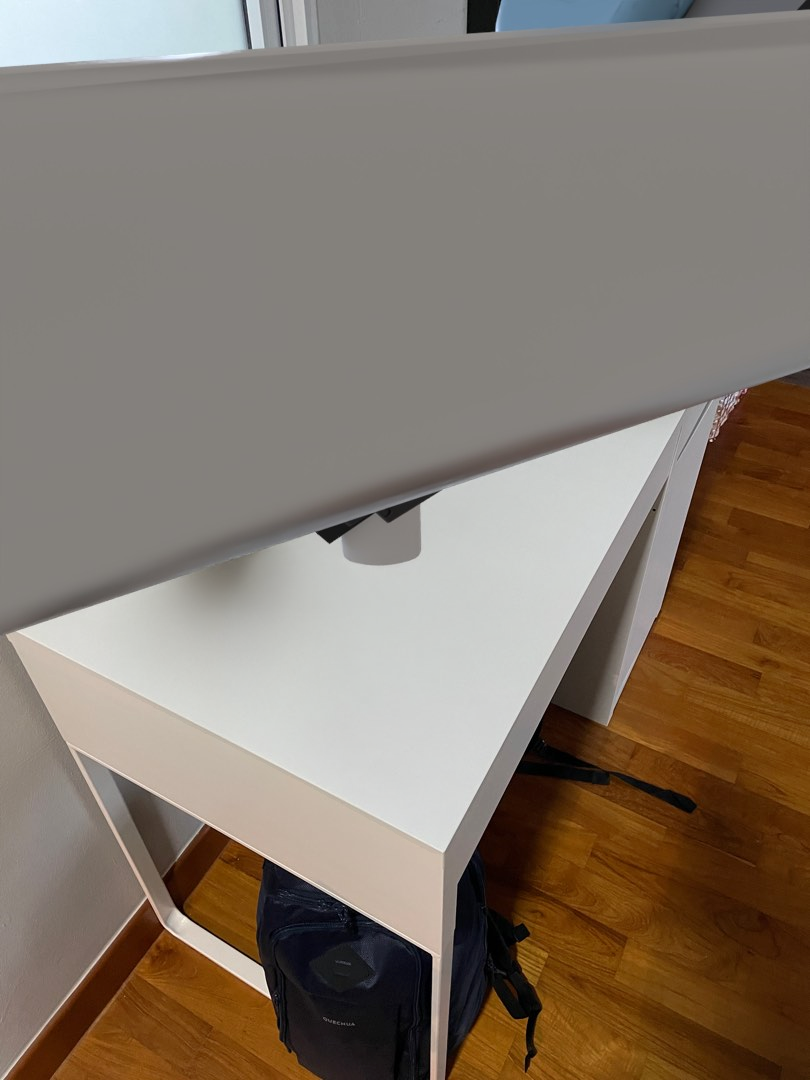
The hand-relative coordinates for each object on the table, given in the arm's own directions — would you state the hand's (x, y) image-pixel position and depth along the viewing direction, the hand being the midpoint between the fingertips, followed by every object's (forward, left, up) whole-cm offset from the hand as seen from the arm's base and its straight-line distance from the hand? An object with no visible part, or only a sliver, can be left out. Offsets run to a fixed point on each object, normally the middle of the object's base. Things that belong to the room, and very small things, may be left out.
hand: (327, 507), depth 57 cm
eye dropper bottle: (+2, -3, -4) cm, 5 cm away
